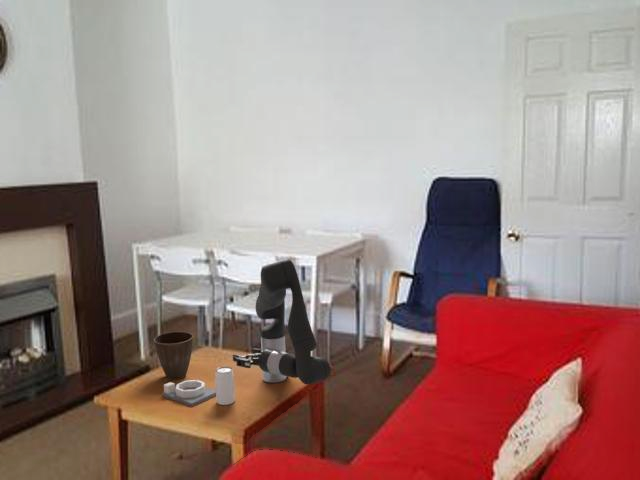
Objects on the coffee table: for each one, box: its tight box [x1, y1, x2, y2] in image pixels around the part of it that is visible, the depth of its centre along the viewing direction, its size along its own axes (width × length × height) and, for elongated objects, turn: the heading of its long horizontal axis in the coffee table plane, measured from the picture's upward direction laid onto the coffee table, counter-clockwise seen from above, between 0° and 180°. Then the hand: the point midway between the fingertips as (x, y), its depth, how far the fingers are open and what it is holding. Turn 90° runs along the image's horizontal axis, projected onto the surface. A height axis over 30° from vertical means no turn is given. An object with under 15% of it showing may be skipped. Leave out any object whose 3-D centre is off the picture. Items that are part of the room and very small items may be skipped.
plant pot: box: [153, 331, 194, 381], centre depth 242 cm, size 15×15×16 cm
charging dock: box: [161, 379, 216, 407], centre depth 224 cm, size 13×16×4 cm
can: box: [214, 366, 236, 406], centre depth 217 cm, size 6×6×12 cm
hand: (243, 354), depth 208 cm, fingers open, 8 cm apart
